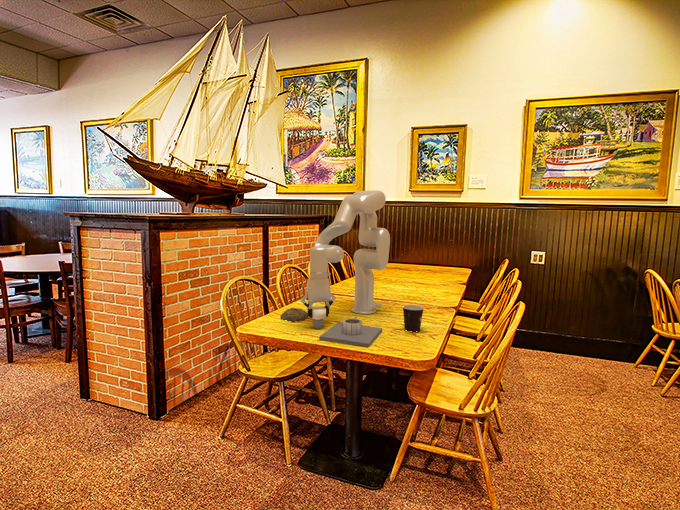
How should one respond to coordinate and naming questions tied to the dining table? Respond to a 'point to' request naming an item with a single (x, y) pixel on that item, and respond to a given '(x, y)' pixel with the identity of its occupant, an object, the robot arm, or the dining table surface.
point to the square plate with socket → (351, 333)
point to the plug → (318, 316)
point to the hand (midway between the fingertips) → (318, 316)
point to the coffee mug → (412, 317)
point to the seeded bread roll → (294, 314)
